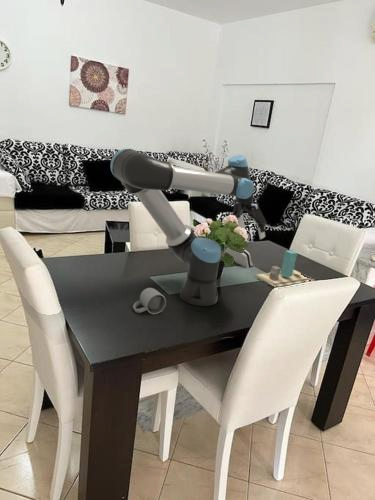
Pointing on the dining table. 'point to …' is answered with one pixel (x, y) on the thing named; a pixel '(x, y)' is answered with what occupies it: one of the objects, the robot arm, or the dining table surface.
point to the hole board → (282, 277)
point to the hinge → (241, 257)
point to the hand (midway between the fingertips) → (252, 233)
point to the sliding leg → (288, 263)
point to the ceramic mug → (150, 301)
